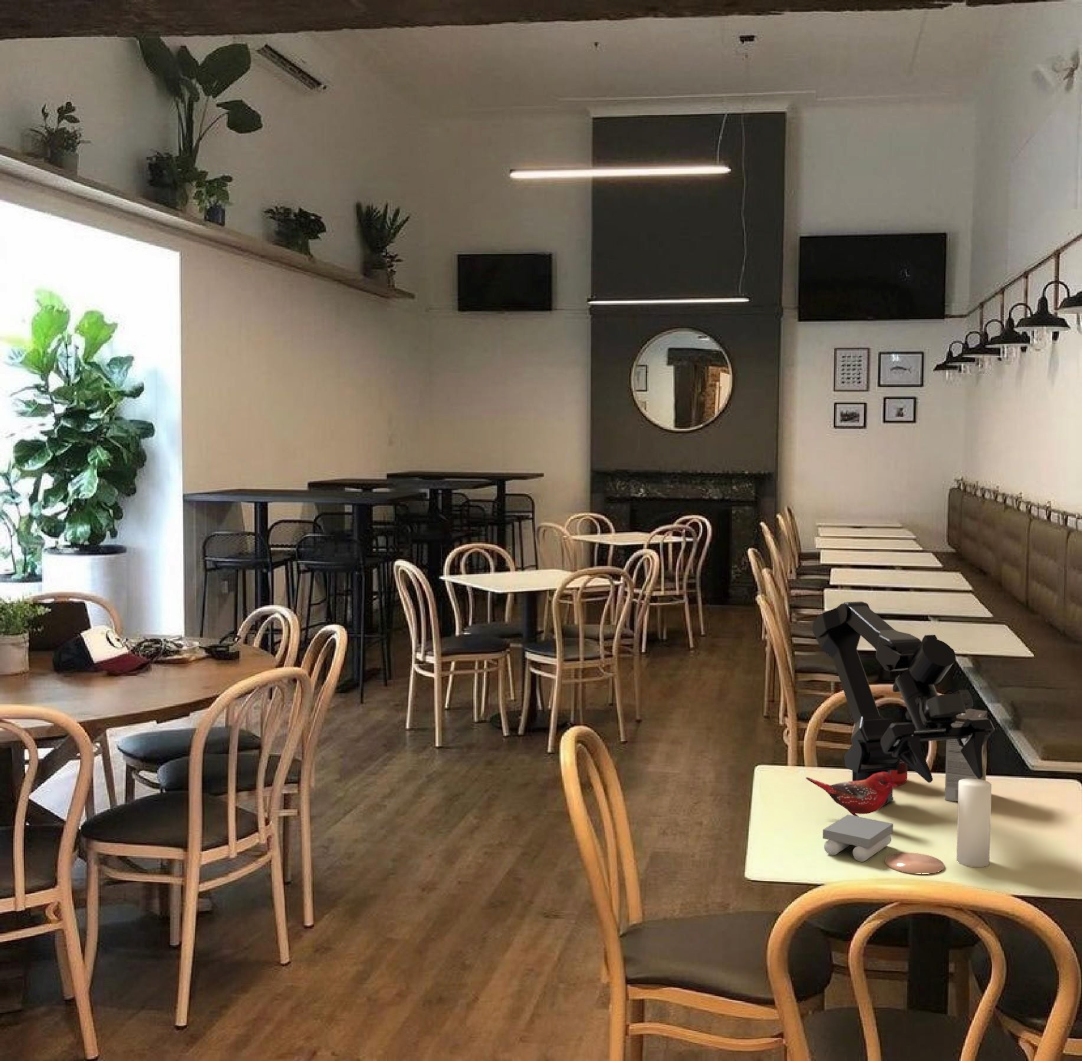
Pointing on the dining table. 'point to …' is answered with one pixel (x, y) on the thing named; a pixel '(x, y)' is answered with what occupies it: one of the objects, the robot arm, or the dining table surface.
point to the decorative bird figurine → (860, 793)
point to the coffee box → (960, 758)
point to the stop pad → (914, 863)
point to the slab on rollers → (857, 836)
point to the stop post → (973, 822)
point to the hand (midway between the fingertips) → (955, 779)
